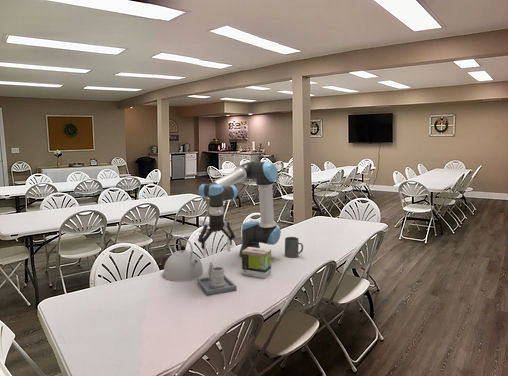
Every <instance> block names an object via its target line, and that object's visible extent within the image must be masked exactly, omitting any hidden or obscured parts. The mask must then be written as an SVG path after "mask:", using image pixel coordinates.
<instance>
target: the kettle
mask: <svg viewBox="0 0 508 376" xmlns="http://www.w3.org/2000/svg"><path fill="white" fill-rule="evenodd" d="M178 239H183V240H185V241H187V243H188V244H189V246H190V250H186V247H185V246H184V245H181V246H180V250H177V248H176V247H177V246H176V244H177V240H178ZM173 247H174V251H175V252H173V253H172V254H171V255H170V256H169V257H168V258H167V260H166V261H165V263H164V265H163V266H164V268H163V278H165V279H166V280H169V281H172V282H189V281H190V282H191V281H194V280H197V279H200V278H201V277H202V276H203V275H204V269H203V263H202V261H201V259H200V257H198V255H197V254H195V253H194V252H193V251H194V250H193V246H192V243H191V241H190V240H189V239H188V238H186V237H184V236H181V235H180V236H177V237H175V239H174V243H173Z"/></svg>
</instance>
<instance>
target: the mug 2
mask: <svg viewBox="0 0 508 376" xmlns="http://www.w3.org/2000/svg"><path fill="white" fill-rule="evenodd" d="M299 245H301V246H300V247H301V248H300V251H299ZM303 251H304V245H303V243H301V242H299V238H298V237H296V236H287V237H285V239H284V257H286V258H290V259H291V258H292V259H293V258H298V256H299V254H302V253H303Z"/></svg>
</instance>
